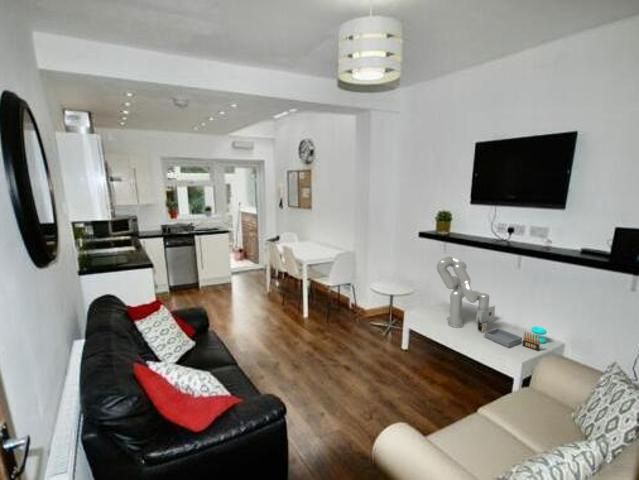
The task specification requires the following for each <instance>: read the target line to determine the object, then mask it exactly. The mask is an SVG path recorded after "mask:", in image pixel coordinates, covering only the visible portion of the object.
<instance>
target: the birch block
mask: <svg viewBox="0 0 639 480" xmlns="http://www.w3.org/2000/svg"><path fill="white" fill-rule="evenodd" d="M480 324H481V323H480ZM487 324H488V323H486V322H483V323H482V331H480V330H478V329H477V332H479V333H481V334H483V333H484V334H485V332H487Z"/></svg>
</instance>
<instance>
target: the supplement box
mask: <svg viewBox="0 0 639 480" xmlns="http://www.w3.org/2000/svg"><path fill="white" fill-rule="evenodd" d="M488 311H489V320H488V322H487V324H491V323H493V322H495V312H496V305H495V304H492V303H489V309H488Z"/></svg>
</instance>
